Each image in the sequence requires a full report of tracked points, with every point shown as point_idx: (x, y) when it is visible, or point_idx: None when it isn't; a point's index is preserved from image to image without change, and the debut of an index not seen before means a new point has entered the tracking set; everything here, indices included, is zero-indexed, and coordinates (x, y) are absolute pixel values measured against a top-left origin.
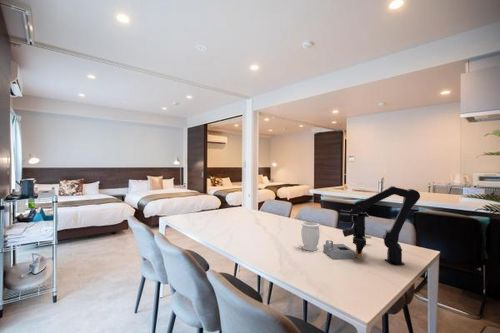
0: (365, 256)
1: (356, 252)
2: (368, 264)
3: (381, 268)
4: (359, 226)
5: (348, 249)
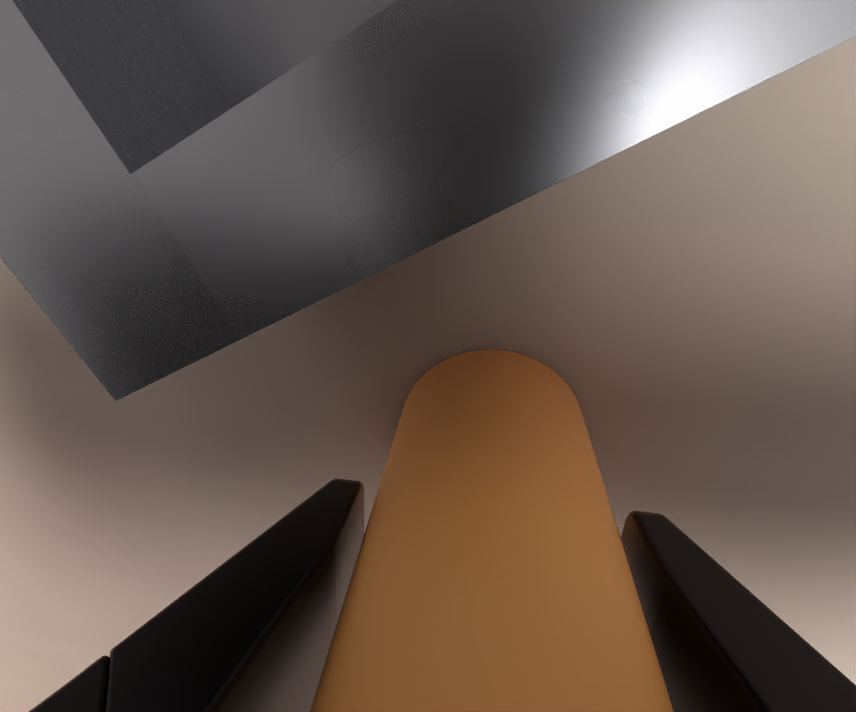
0: None
1: (420, 446)
2: (61, 550)
3: (18, 692)
4: None
5: (311, 66)
